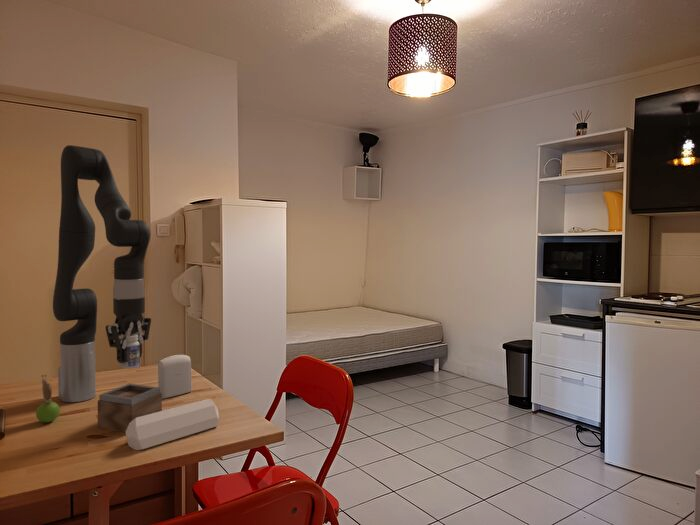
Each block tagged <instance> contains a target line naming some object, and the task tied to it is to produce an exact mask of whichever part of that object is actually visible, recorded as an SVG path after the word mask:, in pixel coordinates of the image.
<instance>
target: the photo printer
mask: <svg viewBox="0 0 700 525" xmlns="http://www.w3.org/2000/svg"><path fill="white" fill-rule="evenodd" d="M157 376H158V378H157V384H158V385H157V387H159V388H160V393H162V400H164V399H167V398H171V397H176V396H180V395H184V394H186V393H190V392H192V360H191V357H190V356H189V355H186V354H175V355H171V356H170V355H169V356H168V357H165V358H163V359H161V360H159V361H158V364H157Z"/></svg>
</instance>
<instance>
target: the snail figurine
mask: <svg viewBox="0 0 700 525" xmlns="http://www.w3.org/2000/svg"><path fill="white" fill-rule="evenodd" d="M47 376H48V375H47V374H41V377H42V381H41V384H42V386H41V387H42V388H41V389H42V396H43V401H44V402H42V403H41V404H40V405H39V406H38V407H37V409H36V411H35V416H36V419H37V420H38V421H39V422H41V423H45V424H46V423H52V422H53V421H55V420H56V419H57V418H58V417H59V416H60V413H61V408H60V405H59V404H58V403H57V402H55V401H52V399H51V398H52V393H53V392H52V391H53V390H52V385H51V384H50V383H48V380H47ZM44 377H45V378H44Z"/></svg>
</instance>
